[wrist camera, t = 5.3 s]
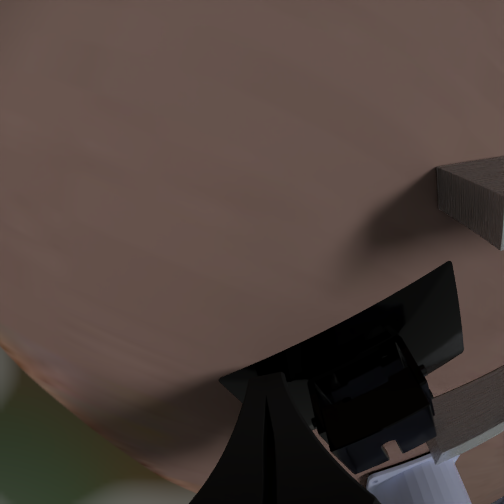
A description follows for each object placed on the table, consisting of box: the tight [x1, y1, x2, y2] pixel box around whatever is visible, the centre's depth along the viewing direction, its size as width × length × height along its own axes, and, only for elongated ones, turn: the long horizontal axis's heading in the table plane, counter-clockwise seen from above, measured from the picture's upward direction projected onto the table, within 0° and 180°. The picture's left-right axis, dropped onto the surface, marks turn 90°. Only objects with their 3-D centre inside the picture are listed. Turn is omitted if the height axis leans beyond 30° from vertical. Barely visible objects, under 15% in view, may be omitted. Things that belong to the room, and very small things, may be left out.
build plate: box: [219, 261, 464, 474], centre depth 11 cm, size 12×7×5 cm, turn 121°
